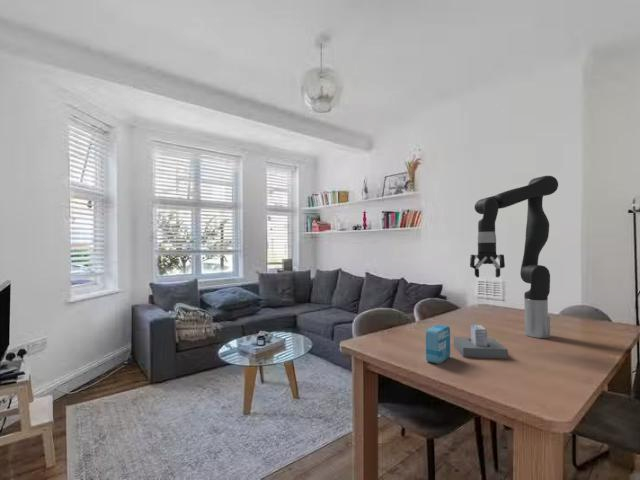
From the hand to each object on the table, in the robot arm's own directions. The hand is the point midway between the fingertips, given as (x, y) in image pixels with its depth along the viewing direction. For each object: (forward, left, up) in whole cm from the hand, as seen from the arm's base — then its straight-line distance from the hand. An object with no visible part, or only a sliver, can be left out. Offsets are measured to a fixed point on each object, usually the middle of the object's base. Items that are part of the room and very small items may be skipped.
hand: (487, 277), depth 153 cm
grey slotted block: (+10, +20, -28) cm, 36 cm away
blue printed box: (+28, +31, -28) cm, 51 cm away
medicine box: (+10, +20, -27) cm, 35 cm away
